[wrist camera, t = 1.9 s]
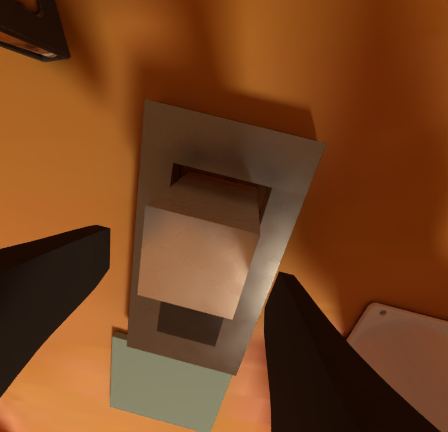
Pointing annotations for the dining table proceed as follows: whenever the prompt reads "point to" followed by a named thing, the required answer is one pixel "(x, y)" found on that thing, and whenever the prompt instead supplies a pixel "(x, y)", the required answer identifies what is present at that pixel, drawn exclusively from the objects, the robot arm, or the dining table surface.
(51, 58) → the ammunition clip
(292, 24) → the dining table surface
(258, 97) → the dining table surface
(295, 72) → the dining table surface
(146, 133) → the grey flat rectangular board
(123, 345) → the mat
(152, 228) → the steel block
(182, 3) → the dining table surface
